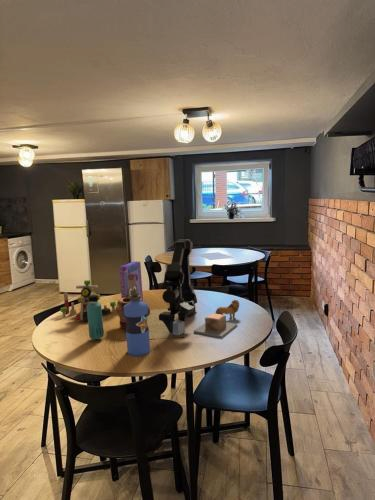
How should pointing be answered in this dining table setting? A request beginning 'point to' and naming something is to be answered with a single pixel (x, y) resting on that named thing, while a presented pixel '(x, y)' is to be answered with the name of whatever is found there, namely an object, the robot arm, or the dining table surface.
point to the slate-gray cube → (178, 327)
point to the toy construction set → (84, 302)
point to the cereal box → (130, 279)
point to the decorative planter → (120, 310)
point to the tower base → (216, 333)
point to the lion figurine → (229, 309)
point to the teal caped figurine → (95, 318)
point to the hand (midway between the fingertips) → (177, 330)
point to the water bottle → (137, 326)
